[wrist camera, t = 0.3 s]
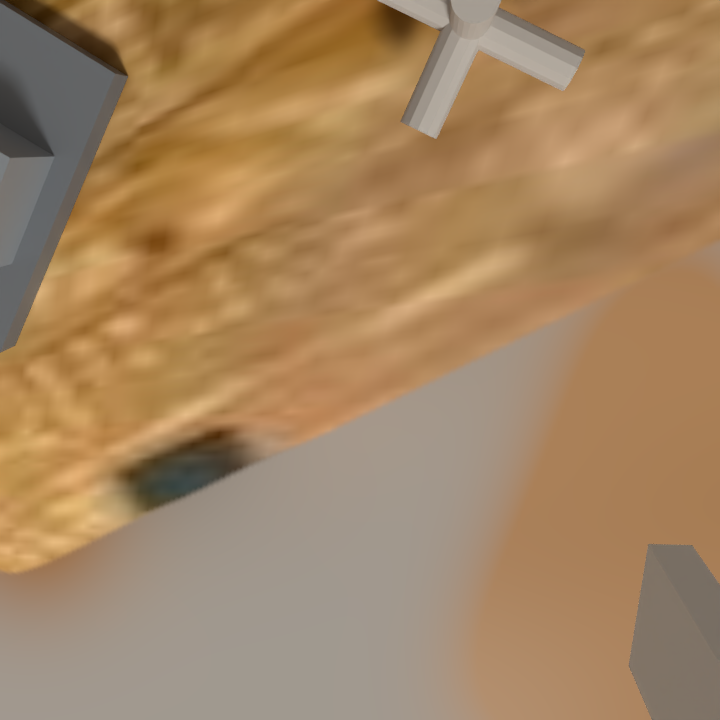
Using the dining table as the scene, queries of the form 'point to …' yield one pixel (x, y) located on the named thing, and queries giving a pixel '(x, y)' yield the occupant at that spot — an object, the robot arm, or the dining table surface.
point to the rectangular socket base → (43, 149)
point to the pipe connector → (465, 38)
